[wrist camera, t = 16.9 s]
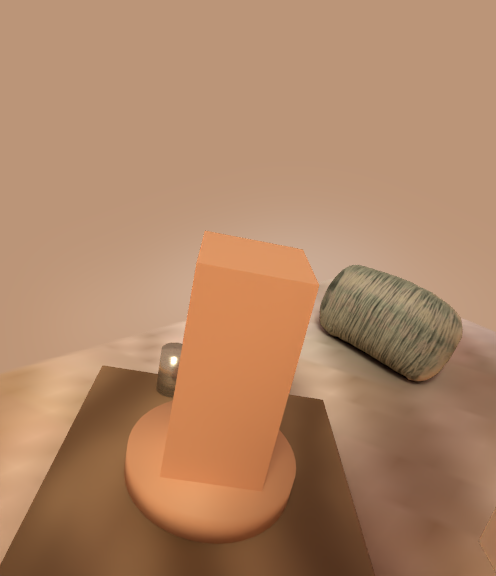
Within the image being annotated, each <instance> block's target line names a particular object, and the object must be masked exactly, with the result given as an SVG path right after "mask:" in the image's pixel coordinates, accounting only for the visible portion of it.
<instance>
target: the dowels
mask: <svg viewBox="0 0 496 576" xmlns="http://www.w3.org/2000/svg"><path fill="white" fill-rule="evenodd" d="M182 345H183V344H180V343H168V344H166V345H164V346H163V347H162V351H161V358H160V364H159V371H158V378H157V384H156V390H157V392H158V393H159V394H161V395H163V396H166V397H171V398H173V397H174V391H175V385H176V379H177V374H178V368H179V362H180V356H181V350H182Z"/></svg>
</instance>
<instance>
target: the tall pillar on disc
mask: <svg viewBox="0 0 496 576" xmlns="http://www.w3.org/2000/svg"><path fill="white" fill-rule="evenodd" d="M318 288H319V284H318V282H317V279H316V277H315V275H314V273H313V271H312V269H311V266H310V264H309V262H308V260H307V257H306V255H305V253H304V251H303V250H302V249H298V248H292V247H287V246H282V245H277V244H271V243H266V242H261V241H256V240H251V239H246V238H240V237H235V236H230V235H224V234H220V233H214V232H209V231H205V232H204V236H203V240H202V244H201V248H200V252H199V255H198V259H197V263H196V269H195V275H194V281H193V286H192V292H191V298H190V304H189V310H188V315H187V321H186V327H185V333H184V339H183V345H182V350H181V356H180V362H179V368H178V374H177V379H176V385H175V391H174V397H173V401H170V402H167V403H164V404H161V405H159V406H157V407H155V408H153V409H152V410H150V411H148V412H147V413H146V414H145V415H143V416H142V417H141V418H140V419H139V420H138V421H137V423H136V424H135V426H134V427H133V429H132V431H131V433H130V435H129V439H128V444H127V451H126V458H125V466H124V478H125V484H126V487H127V491H128V493H129V495H130V497H131V499H132V501H133V503H134V504H135V505H136V507H137V508H138V509H139V511H140V512H141V513H142V514H143V515H144V516H145V517H146V518H147V519H149V520H150V521H151V522H152V523H154V524H155V525H156V526H158V527H160V528H161V529H163V530H165V531H166V532H169V533H171V534H173V535H175V536H178V537H181V538H184V539H187V540H190V541H195V542H201V543H210V544H225V543H233V542H239V541H243V540H246V539H249V538H252V537H254V536H256V535H258V534H261V533H262V532H264V531H265V530H267V529H268V528H270V527H271V526H272V525H273V524H274V523H275V522H276V521H277V520H278V519H279V517H280V516H281V515H282V513H283V511H284V509H285V507H286V505H287V502H288V499H289V495H290V492H291V489H292V486H293V482H294V479H295V475H296V460H295V456H294V453H293V450H292V448H291V446H290V444H289V442H288V441H287V439H286V438H285V436H284V435H283V434H282V432H281V431H280V430H279V428H280V424H281V421H282V417H283V414H284V410H285V406H286V403H287V399H288V396H289V392H290V388H291V385H292V381H293V378H294V374H295V370H296V367H297V363H298V360H299V356H300V353H301V349H302V345H303V342H304V338H305V335H306V331H307V327H308V324H309V320H310V317H311V313H312V309H313V306H314V302H315V299H316V295H317V291H318Z"/></svg>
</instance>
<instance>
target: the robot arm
mask: <svg viewBox="0 0 496 576" xmlns="http://www.w3.org/2000/svg"><path fill="white" fill-rule="evenodd" d="M479 543H480V545H481V547H482V549H483V550H484V552H485V554H486V556H487V558H488V560H489V561H490V563H491V565H492V567H493V569H494V571H495V572H496V508H495V510H494V512H493V514H492V516H491V518H490V519H489V521H488V523H487V525H486V527H485V529H484V531H483V533H482V535H481V537H480V539H479Z"/></svg>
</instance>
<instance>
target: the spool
mask: <svg viewBox="0 0 496 576" xmlns="http://www.w3.org/2000/svg"><path fill="white" fill-rule="evenodd" d="M320 323H321V325H322V327H323V328H324V329H325V330H326V331H327V332H328V333H329V334H331V335H332V336H335V337H339V338H340V339H342V340H344V341H346V342H349V343H350V344H352V345H353V346H355V347H357V348H359V349H361V350H362V351H364V352H366V353H367V354H369V355H370V356H372V357H374V358H375V359H377V360H379V361H380V362H381V363H383V364H385V365H387V366H389V367H390V368H392V369H393V370H394V371H396V372H398V373H400V374H402V375H404V376H406V377H407V378H408V379H409V380H413V381H424V380H427V379H429V378H431V377H433V376H435V375H436V374H438V373H439V372H440V371H441V370H442V368H443V367H444V365H445V364H446V363H447V362H448V361H449V359H450V357H451V356H452V354H453V352H454V350H455V349H456V347H457V345H458V343H459V342H460V340H461V338H462V322H461V318H460V316H459V315H458V313H457V312H456V311H455V310H454V309H453V308H452V307H451V306H450V305H449V304H447V303H446V302H445V301H443V300H442V299H440V298H439V297H437V296H436V295H435V294H433V293H432V292H429V291H427V290H425V289H423V288H421V287H419V286H417V285H415V284H414V283H412V282H410V281H407V280H404V279H402V278H399V277H397V276H393V275H390V274H388V273H385V272H381V271H377V270H375V269H372V268H367V267H365V266H360V265H352V266H349V267H347V268H345V269H344V270H342V271H341V272H340V273H339V274H338V275H337V276H336V277H335V279H334V280H333V281H332V282H331V284H330V285H329V287H328V289H327V291H326V293H325V295H324V297H323V300H322V302H321V306H320Z"/></svg>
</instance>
